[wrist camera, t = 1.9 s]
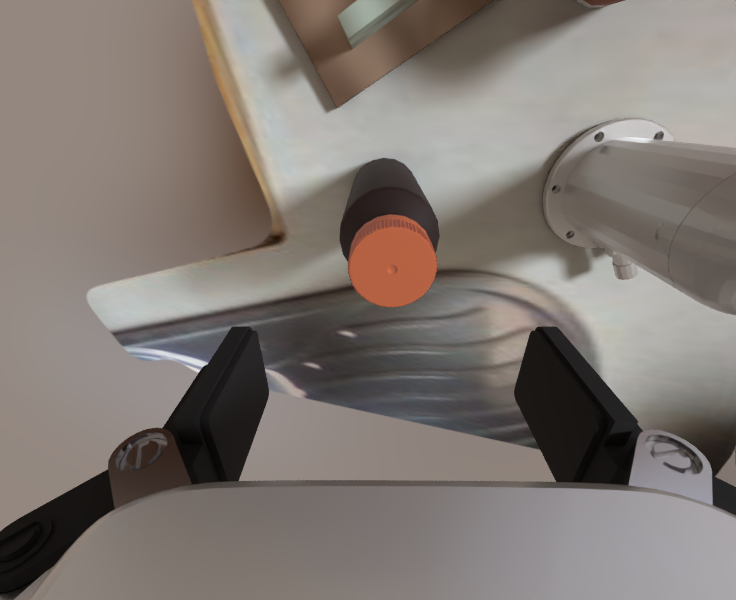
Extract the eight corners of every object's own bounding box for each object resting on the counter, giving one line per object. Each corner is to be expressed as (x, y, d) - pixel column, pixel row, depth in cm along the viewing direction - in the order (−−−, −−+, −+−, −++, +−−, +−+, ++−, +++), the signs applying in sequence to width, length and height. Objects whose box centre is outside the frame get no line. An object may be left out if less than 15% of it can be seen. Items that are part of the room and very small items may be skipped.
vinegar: (375, 143, 33) (375, 179, 16) (429, 182, 35) (482, 253, 18) (340, 200, 36) (307, 284, 19) (392, 234, 38) (405, 340, 21)
